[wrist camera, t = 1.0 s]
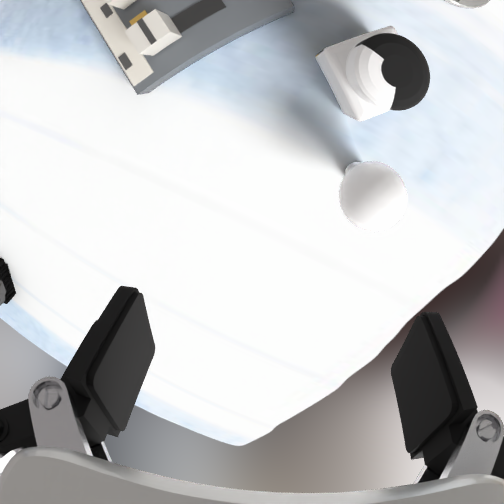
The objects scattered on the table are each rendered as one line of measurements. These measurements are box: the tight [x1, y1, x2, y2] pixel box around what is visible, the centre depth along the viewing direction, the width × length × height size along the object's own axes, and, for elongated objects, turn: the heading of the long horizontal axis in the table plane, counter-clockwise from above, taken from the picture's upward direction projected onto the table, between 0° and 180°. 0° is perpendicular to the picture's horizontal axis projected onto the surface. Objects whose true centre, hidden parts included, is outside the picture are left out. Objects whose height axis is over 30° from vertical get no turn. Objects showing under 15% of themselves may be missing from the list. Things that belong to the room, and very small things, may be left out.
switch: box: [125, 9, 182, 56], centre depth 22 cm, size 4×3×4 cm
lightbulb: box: [339, 161, 407, 232], centre depth 28 cm, size 6×6×11 cm
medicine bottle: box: [315, 26, 430, 122], centre depth 22 cm, size 7×7×12 cm
